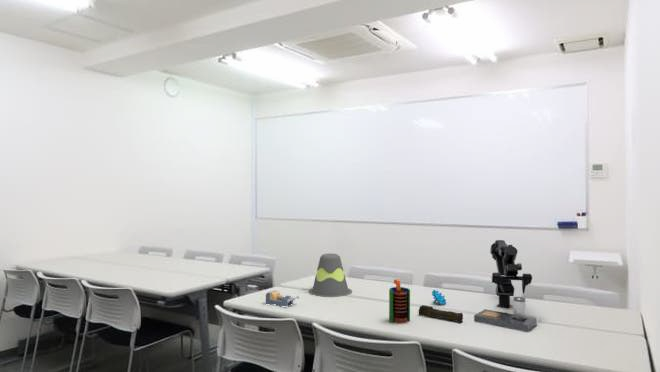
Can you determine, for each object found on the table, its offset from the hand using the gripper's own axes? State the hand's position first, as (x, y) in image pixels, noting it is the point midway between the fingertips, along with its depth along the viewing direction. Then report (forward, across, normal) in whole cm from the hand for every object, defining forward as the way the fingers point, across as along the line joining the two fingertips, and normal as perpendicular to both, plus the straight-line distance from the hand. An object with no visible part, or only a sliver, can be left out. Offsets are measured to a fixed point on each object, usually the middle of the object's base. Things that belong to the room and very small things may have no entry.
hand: (513, 292), depth 214 cm
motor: (+19, -56, 0) cm, 59 cm away
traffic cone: (-18, -103, +38) cm, 111 cm away
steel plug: (+16, +1, +3) cm, 16 cm away
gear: (-7, -35, +27) cm, 45 cm away
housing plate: (+14, -5, +5) cm, 16 cm away
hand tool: (+14, -36, +6) cm, 39 cm away
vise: (+7, -123, +13) cm, 124 cm away
